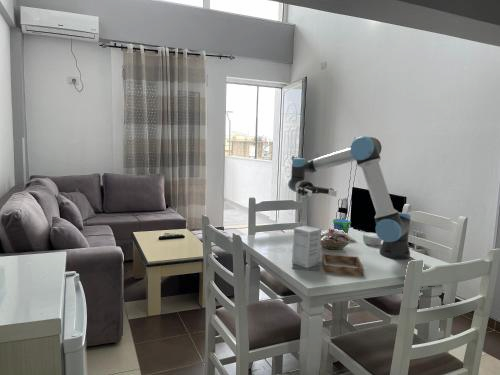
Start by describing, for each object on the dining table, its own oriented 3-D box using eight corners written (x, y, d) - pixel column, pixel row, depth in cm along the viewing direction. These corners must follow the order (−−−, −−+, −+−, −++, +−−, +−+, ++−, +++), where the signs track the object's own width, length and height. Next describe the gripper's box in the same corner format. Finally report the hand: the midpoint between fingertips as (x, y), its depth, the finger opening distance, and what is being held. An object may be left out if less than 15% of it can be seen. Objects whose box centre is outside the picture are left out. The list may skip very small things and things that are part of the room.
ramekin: (379, 247, 214) (380, 238, 213) (359, 244, 219) (360, 235, 218) (383, 243, 223) (384, 234, 223) (364, 239, 229) (365, 231, 228)
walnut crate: (357, 263, 182) (357, 256, 182) (363, 276, 165) (363, 268, 165) (321, 260, 184) (322, 253, 184) (323, 272, 167) (324, 265, 167)
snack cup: (351, 240, 225) (353, 224, 224) (333, 239, 226) (335, 222, 224) (346, 234, 240) (348, 218, 239) (330, 233, 241) (331, 217, 240)
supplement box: (319, 264, 175) (322, 229, 173) (307, 268, 169) (310, 232, 167) (303, 259, 182) (305, 225, 180) (291, 262, 176) (293, 227, 174)
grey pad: (317, 262, 181) (317, 260, 181) (319, 271, 169) (319, 269, 169) (292, 260, 182) (292, 258, 182) (292, 268, 170) (292, 266, 170)
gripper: (324, 194, 211) (345, 201, 191) (283, 194, 203) (300, 201, 183) (325, 181, 210) (346, 186, 190) (284, 180, 202) (301, 186, 182)
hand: (323, 193), depth 186 cm, fingers open, 13 cm apart
